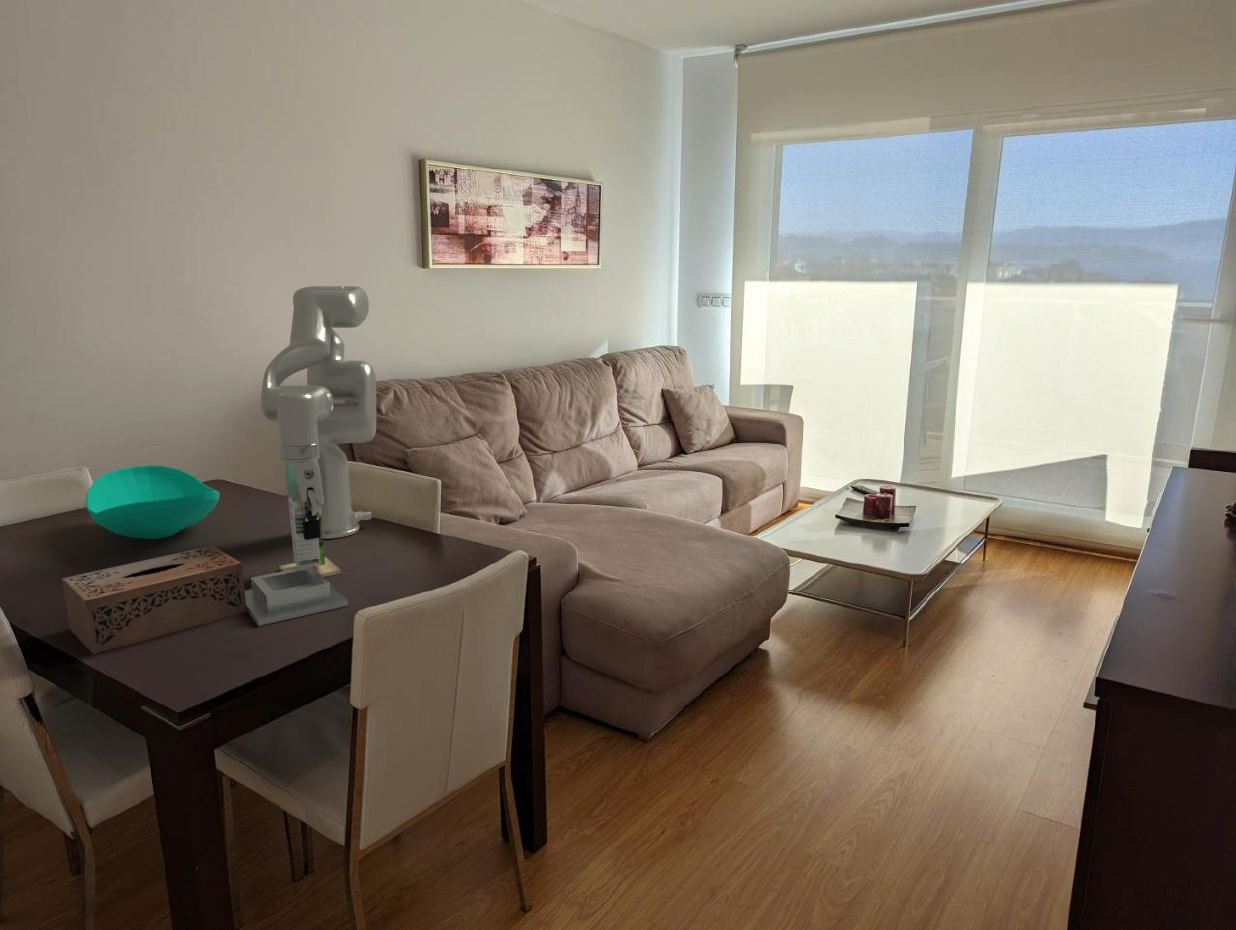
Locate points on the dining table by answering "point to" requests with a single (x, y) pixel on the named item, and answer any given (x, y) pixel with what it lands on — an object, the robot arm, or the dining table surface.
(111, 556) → the dining table surface
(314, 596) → the gray stepped square frame
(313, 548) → the syrup box
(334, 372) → the robot arm
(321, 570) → the cork mat
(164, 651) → the dining table surface
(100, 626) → the tissue box cover
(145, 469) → the table top decor
